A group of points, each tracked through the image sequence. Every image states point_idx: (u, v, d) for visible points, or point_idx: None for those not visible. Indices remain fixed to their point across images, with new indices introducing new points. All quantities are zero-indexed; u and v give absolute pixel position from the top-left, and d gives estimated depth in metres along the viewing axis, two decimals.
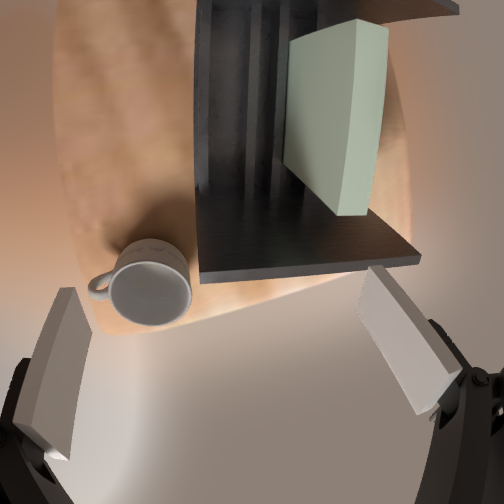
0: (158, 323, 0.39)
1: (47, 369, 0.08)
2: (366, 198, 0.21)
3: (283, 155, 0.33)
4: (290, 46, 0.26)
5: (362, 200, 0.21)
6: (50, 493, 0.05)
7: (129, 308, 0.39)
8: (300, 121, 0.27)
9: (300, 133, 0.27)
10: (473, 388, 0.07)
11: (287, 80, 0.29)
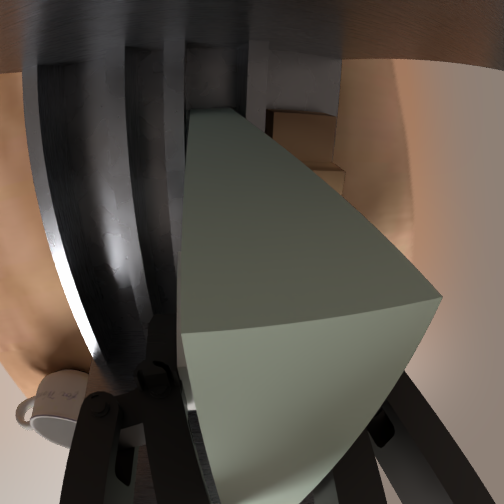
0: None
1: None
2: None
3: None
4: None
5: None
6: (196, 456, 0.07)
7: (61, 432, 0.27)
8: None
9: None
10: None
11: None
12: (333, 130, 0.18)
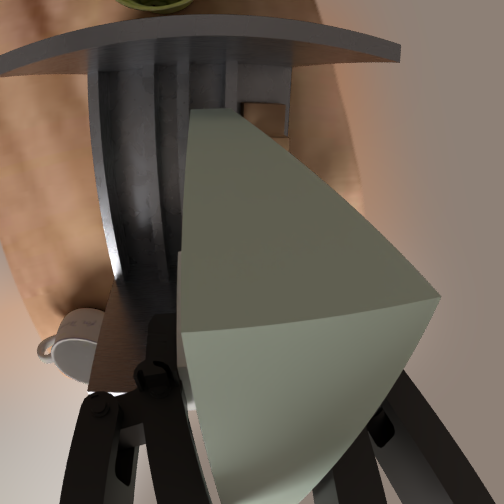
0: None
1: None
2: None
3: None
4: None
5: None
6: (196, 456, 0.07)
7: (75, 368, 0.37)
8: None
9: None
10: None
11: None
12: (283, 113, 0.27)
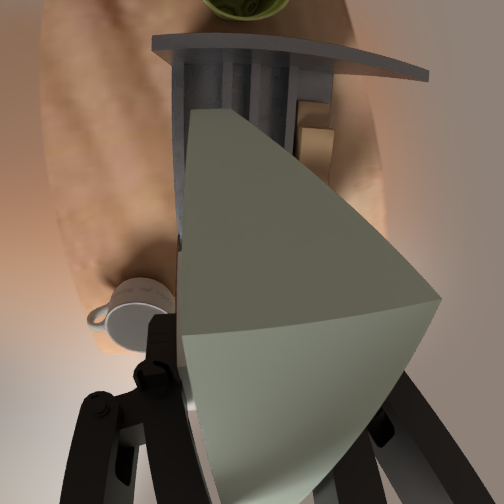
0: None
1: None
2: None
3: None
4: None
5: None
6: (196, 456, 0.07)
7: (124, 337, 0.43)
8: None
9: None
10: None
11: None
12: (328, 110, 0.33)
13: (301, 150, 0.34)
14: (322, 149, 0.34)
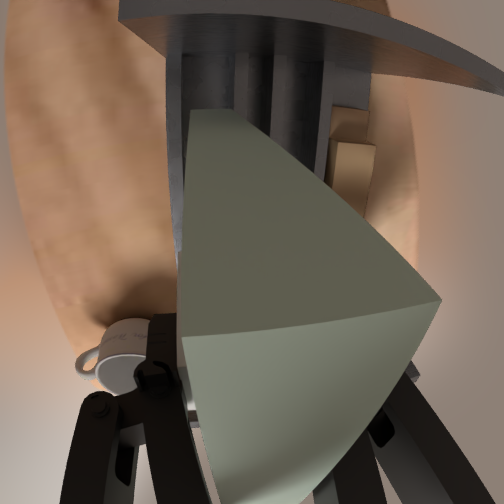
0: None
1: None
2: None
3: None
4: None
5: None
6: (196, 456, 0.07)
7: (118, 382, 0.36)
8: None
9: None
10: None
11: None
12: (367, 120, 0.26)
13: (335, 171, 0.26)
14: (360, 170, 0.26)
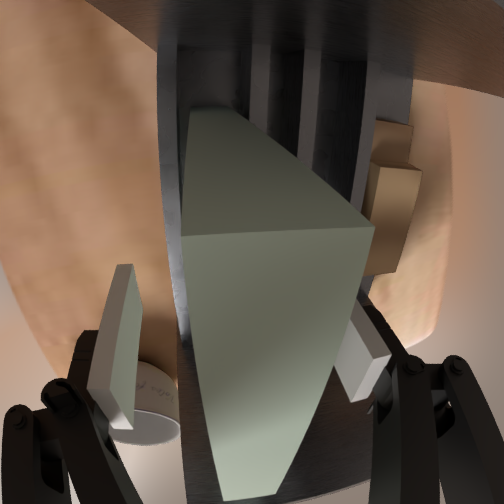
0: (148, 443, 0.30)
1: (118, 336, 0.09)
2: (271, 489, 0.10)
3: None
4: None
5: (265, 491, 0.10)
6: (116, 470, 0.06)
7: None
8: None
9: None
10: (406, 379, 0.08)
11: None
12: (410, 137, 0.20)
13: (374, 203, 0.20)
14: (403, 201, 0.21)
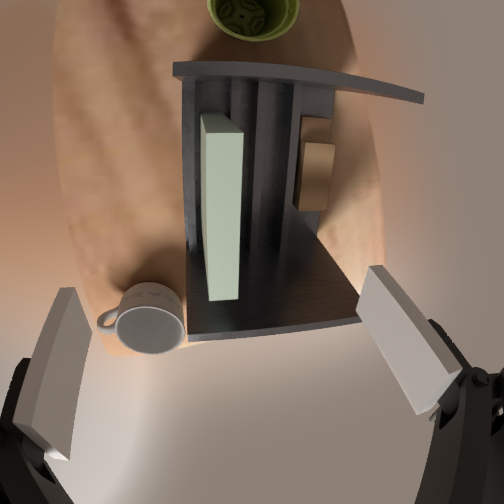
0: (157, 352, 0.46)
1: (47, 369, 0.08)
2: (234, 286, 0.26)
3: None
4: None
5: (231, 288, 0.26)
6: (50, 493, 0.05)
7: (132, 339, 0.45)
8: (202, 200, 0.32)
9: (202, 211, 0.32)
10: (473, 388, 0.07)
11: None
12: (329, 125, 0.36)
13: (304, 163, 0.36)
14: (323, 162, 0.36)
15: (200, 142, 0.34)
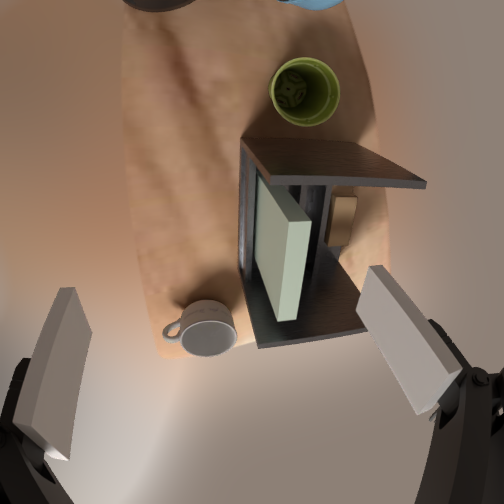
0: (211, 354, 0.58)
1: (47, 369, 0.08)
2: (295, 311, 0.38)
3: (256, 255, 0.50)
4: (260, 183, 0.43)
5: (292, 313, 0.38)
6: (50, 493, 0.05)
7: (191, 345, 0.58)
8: (264, 246, 0.44)
9: (263, 254, 0.44)
10: (473, 388, 0.07)
11: (258, 206, 0.46)
12: None
13: (334, 212, 0.48)
14: (348, 211, 0.49)
15: (257, 197, 0.46)
